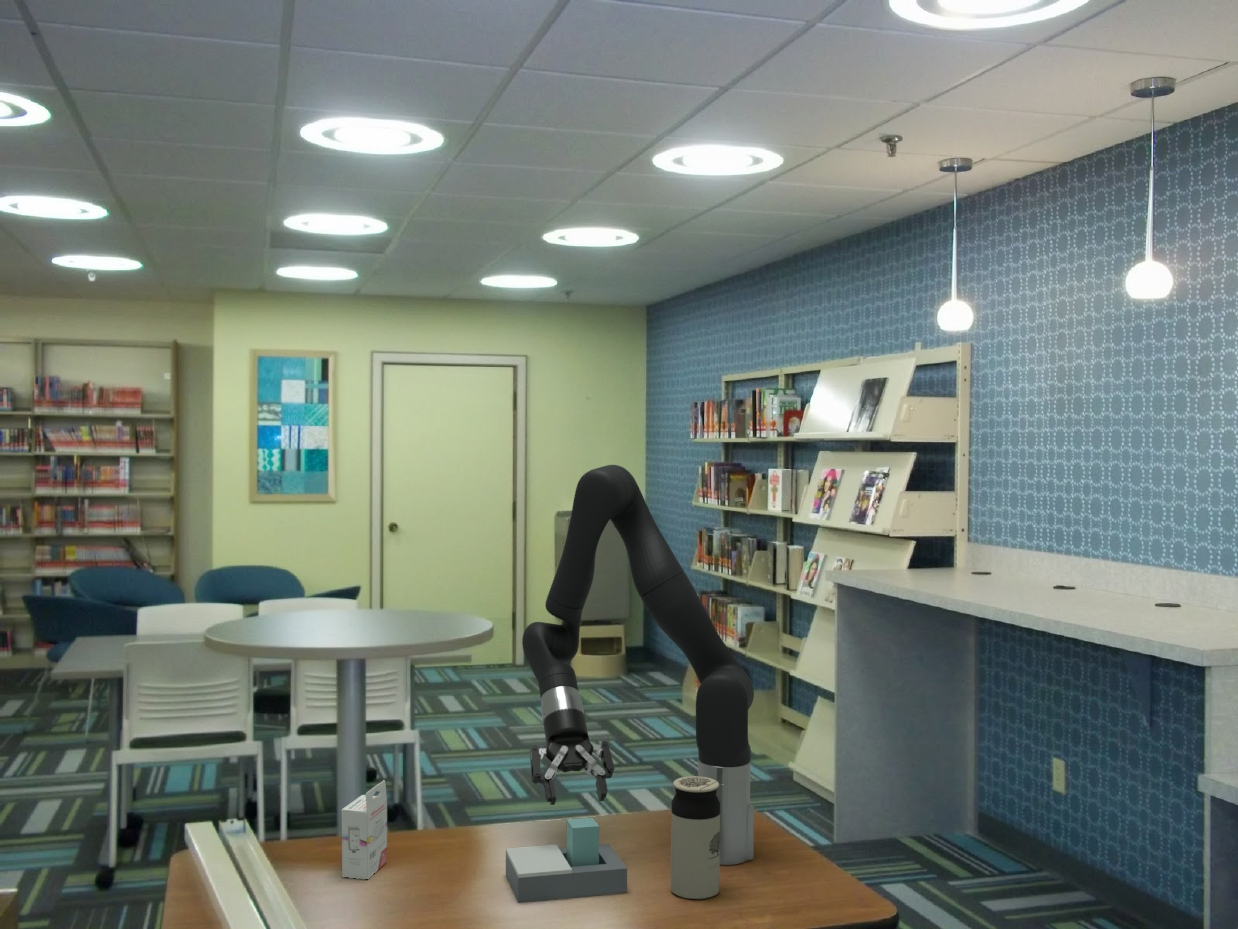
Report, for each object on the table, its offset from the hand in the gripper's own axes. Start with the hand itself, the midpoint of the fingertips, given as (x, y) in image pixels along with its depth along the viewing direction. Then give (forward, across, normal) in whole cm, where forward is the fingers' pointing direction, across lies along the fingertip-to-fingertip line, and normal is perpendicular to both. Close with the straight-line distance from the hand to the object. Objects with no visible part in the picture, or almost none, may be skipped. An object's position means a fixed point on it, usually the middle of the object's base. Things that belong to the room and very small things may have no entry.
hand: (578, 801), depth 205 cm
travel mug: (+18, +17, 0) cm, 24 cm away
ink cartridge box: (+2, -35, +16) cm, 39 cm away
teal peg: (+12, 0, +6) cm, 13 cm away
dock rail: (+12, -3, +6) cm, 14 cm away
